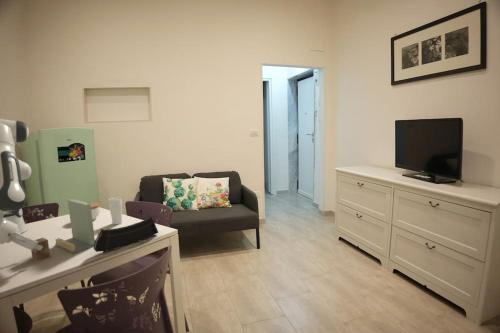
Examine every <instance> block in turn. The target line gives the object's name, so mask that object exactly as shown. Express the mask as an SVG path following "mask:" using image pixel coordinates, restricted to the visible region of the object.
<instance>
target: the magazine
mask: <svg viewBox="0 0 500 333" xmlns="http://www.w3.org/2000/svg"><path fill="white" fill-rule="evenodd" d="M157 234H159V230H158V228H157V225H156V223H155V221H154V219H153V216H149V217H147V218H145V219H143V220H142V221H141V220H140V221H138V222H136V223H135V222H134V223H133V224H130V225H125V226H122V227H117V228H111V229H109V228H108V229H104V228H101V229H100V231H99V232H98V234H97V236H96V238H95V243H94V246H93V247H92V248H93V250H95V251H94V252H102V253H103V254H105V253H106V252H107V251H108V252H109V251H112V250H117V249H121V248H125V247H128V246H131V245H134V244H137V243H140V242H141V241H144V240H146V239H148V238H150V237H152V236H154V235H157Z"/></svg>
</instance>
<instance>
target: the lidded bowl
mask: <svg viewBox="0 0 500 333" xmlns="http://www.w3.org/2000/svg"><path fill="white" fill-rule="evenodd" d="M86 203H89V204H90V205H91V213H92V221H95V220H96V219H97V218H98V217H99V215H100V211H101V208H100V207H101V205H100V203H99V202H89V201H87V202H86Z"/></svg>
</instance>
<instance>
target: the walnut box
mask: <svg viewBox="0 0 500 333" xmlns="http://www.w3.org/2000/svg"><path fill="white" fill-rule="evenodd" d="M34 240H35V241H37V242H38V243H37V244H39V245H41V246H43V248H42V249H41V250H38V249H33V250H30V251H31V256H32V260H35V261H36V262H39V261H42V260H44V259H48V258H50V257H51V253H50V252H51V251H50V246H49V239H47V238H45V237H41V238H37V239H34Z"/></svg>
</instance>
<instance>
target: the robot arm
mask: <svg viewBox="0 0 500 333" xmlns="http://www.w3.org/2000/svg"><path fill="white" fill-rule="evenodd" d="M29 129H30V128H28V125H27V123H25V122H24V121H20V120H12V119H3V118H0V245H3V244H5V243H7V244H9V243H11V242H12V243H14V244H15V245H17V246H20V247H22V248H25V249H28V250H30V251H31V250H33V249H38V250H41V249H42V248H43V246H41V245H39V244H37V243H38V242H37V241H35V240H36V239H33V238H32V237H29V236H27V235H25V234H23V233H25V232H26V231H28V227H27V225H26V223H25V219H24V217H23V216H24V215H23V207H24V206H25V205H26V203H27V200H28V196H27V192H26V190H25V188H24V185H23V182H22V181H24V180H28V179H29V178H30V177H31V176H32V168H31V166H30V164H28V163H27V162H25V161H23V160H20V159H19V157H18V156H17V155H16V147H15V146H16V145H15V143H17V144H18V143H23V142H25V141H27V139H28V137H29V135H30V130H29Z"/></svg>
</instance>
